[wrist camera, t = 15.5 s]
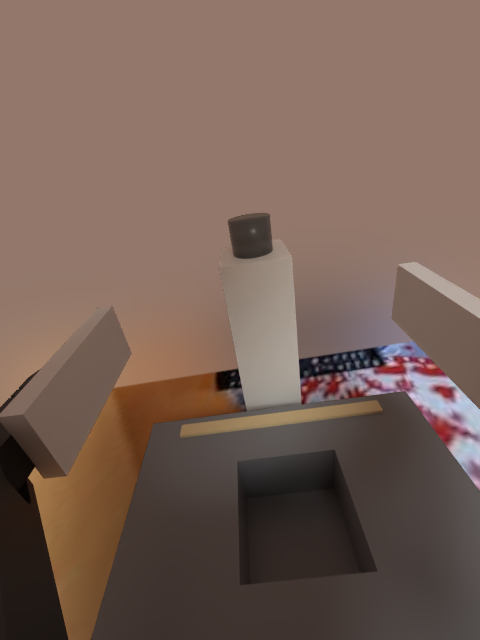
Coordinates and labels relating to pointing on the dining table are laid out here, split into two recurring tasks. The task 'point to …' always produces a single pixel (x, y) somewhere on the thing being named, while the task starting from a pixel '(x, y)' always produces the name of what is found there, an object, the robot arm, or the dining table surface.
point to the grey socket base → (298, 530)
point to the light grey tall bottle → (261, 313)
